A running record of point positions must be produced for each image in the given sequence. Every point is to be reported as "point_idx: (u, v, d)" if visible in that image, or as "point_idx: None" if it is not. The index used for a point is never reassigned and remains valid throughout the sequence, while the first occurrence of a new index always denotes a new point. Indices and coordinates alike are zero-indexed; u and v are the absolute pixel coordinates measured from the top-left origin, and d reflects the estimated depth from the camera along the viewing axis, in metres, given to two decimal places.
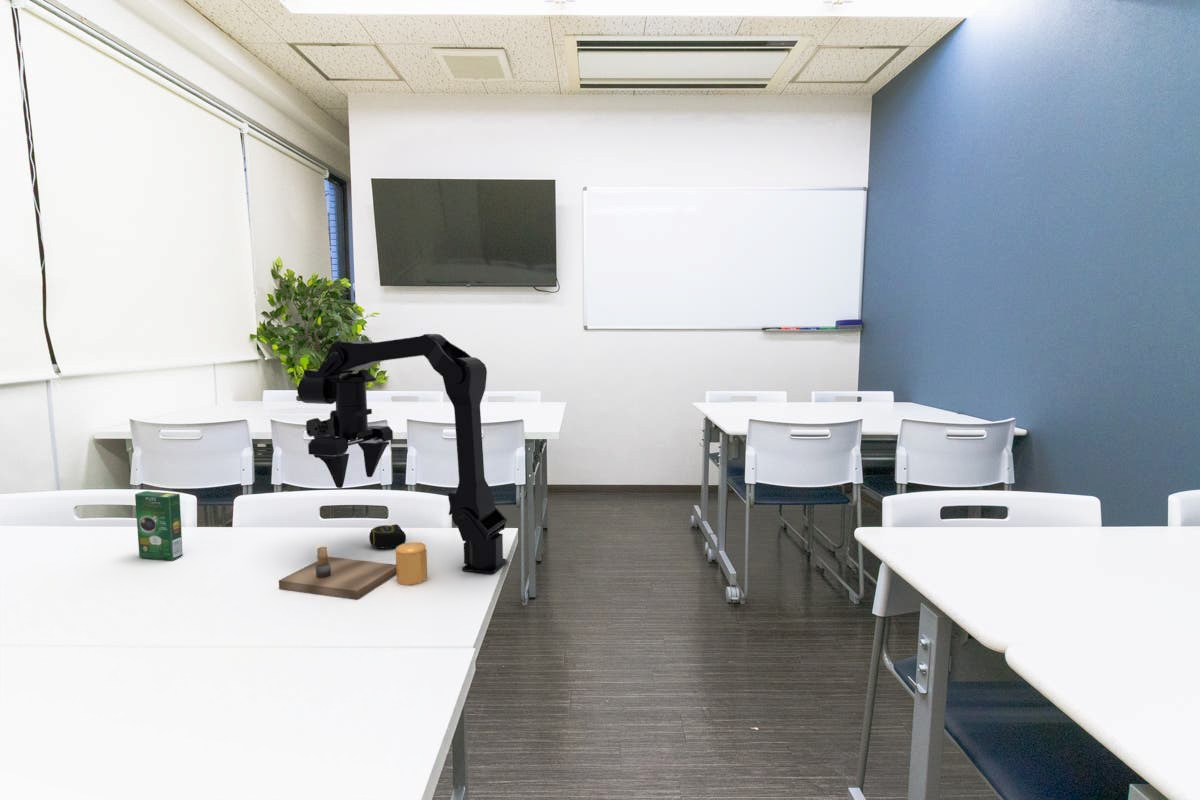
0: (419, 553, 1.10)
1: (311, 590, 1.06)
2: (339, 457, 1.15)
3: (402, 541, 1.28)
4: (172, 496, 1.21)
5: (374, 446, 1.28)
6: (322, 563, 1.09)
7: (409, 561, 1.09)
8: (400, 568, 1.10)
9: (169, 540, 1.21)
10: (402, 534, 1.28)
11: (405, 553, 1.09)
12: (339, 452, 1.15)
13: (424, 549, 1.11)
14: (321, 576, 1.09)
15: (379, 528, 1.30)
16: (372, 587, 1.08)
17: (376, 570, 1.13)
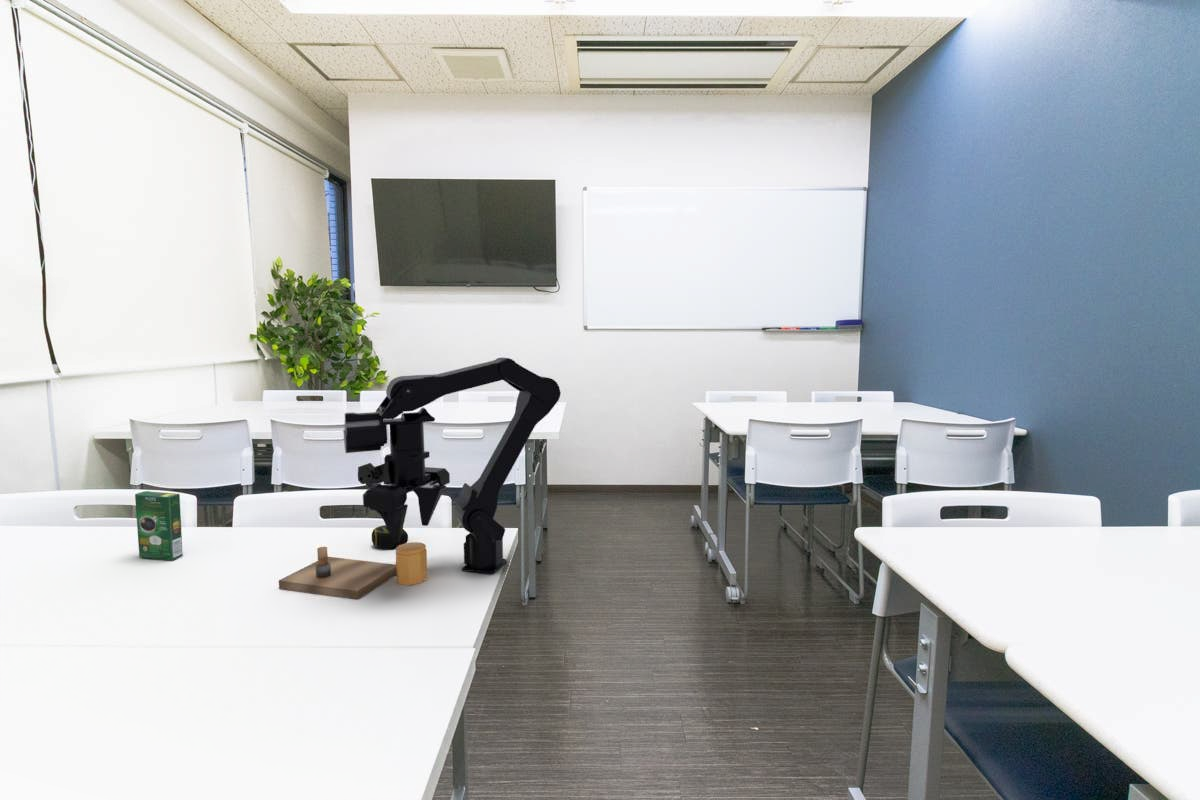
0: (419, 553, 1.10)
1: (311, 590, 1.06)
2: (398, 510, 1.03)
3: (404, 541, 1.29)
4: (172, 496, 1.21)
5: (430, 491, 1.15)
6: (322, 563, 1.09)
7: (409, 561, 1.09)
8: (400, 568, 1.10)
9: (169, 540, 1.21)
10: (404, 534, 1.29)
11: (405, 553, 1.09)
12: (398, 504, 1.02)
13: (424, 549, 1.11)
14: (321, 576, 1.09)
15: (381, 528, 1.30)
16: (372, 587, 1.08)
17: (376, 570, 1.13)
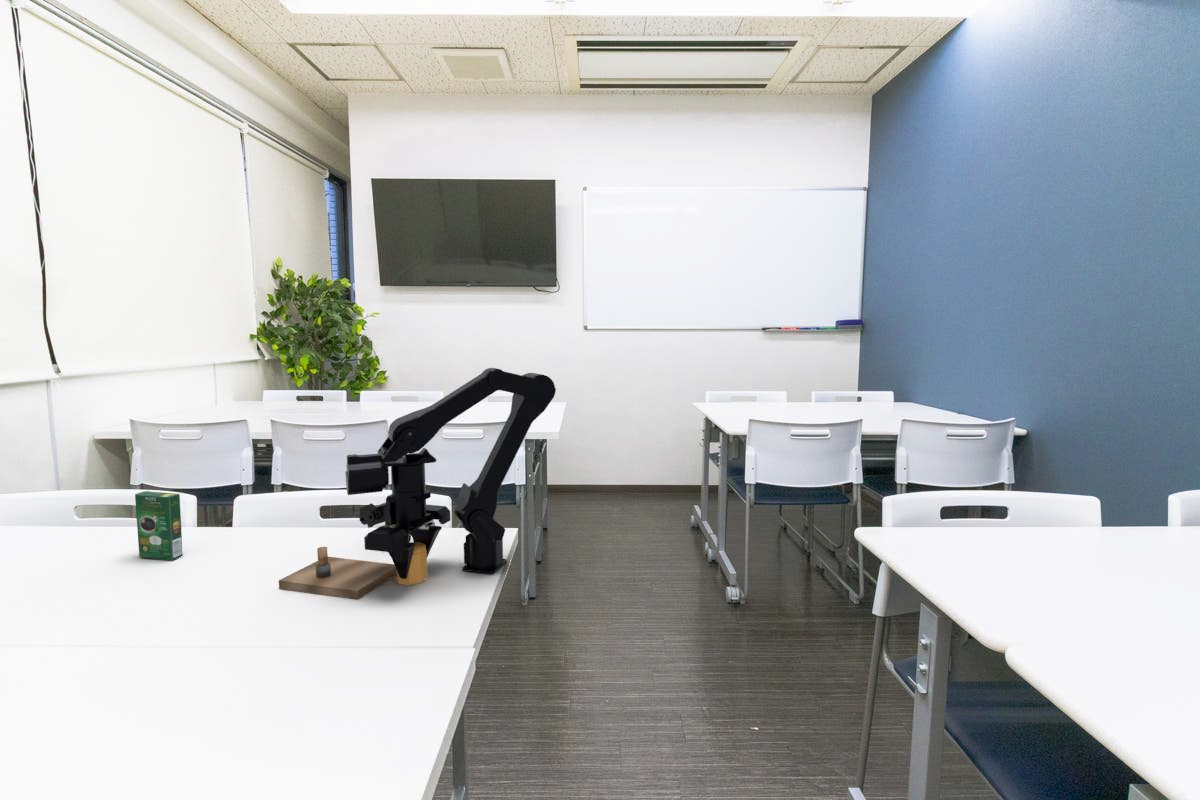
0: (419, 553, 1.10)
1: (311, 590, 1.06)
2: (406, 549, 1.05)
3: None
4: (172, 496, 1.21)
5: (425, 533, 1.14)
6: (322, 563, 1.09)
7: None
8: None
9: (169, 540, 1.21)
10: None
11: None
12: (399, 547, 1.03)
13: (424, 549, 1.11)
14: (321, 576, 1.09)
15: None
16: (372, 587, 1.08)
17: (376, 570, 1.13)
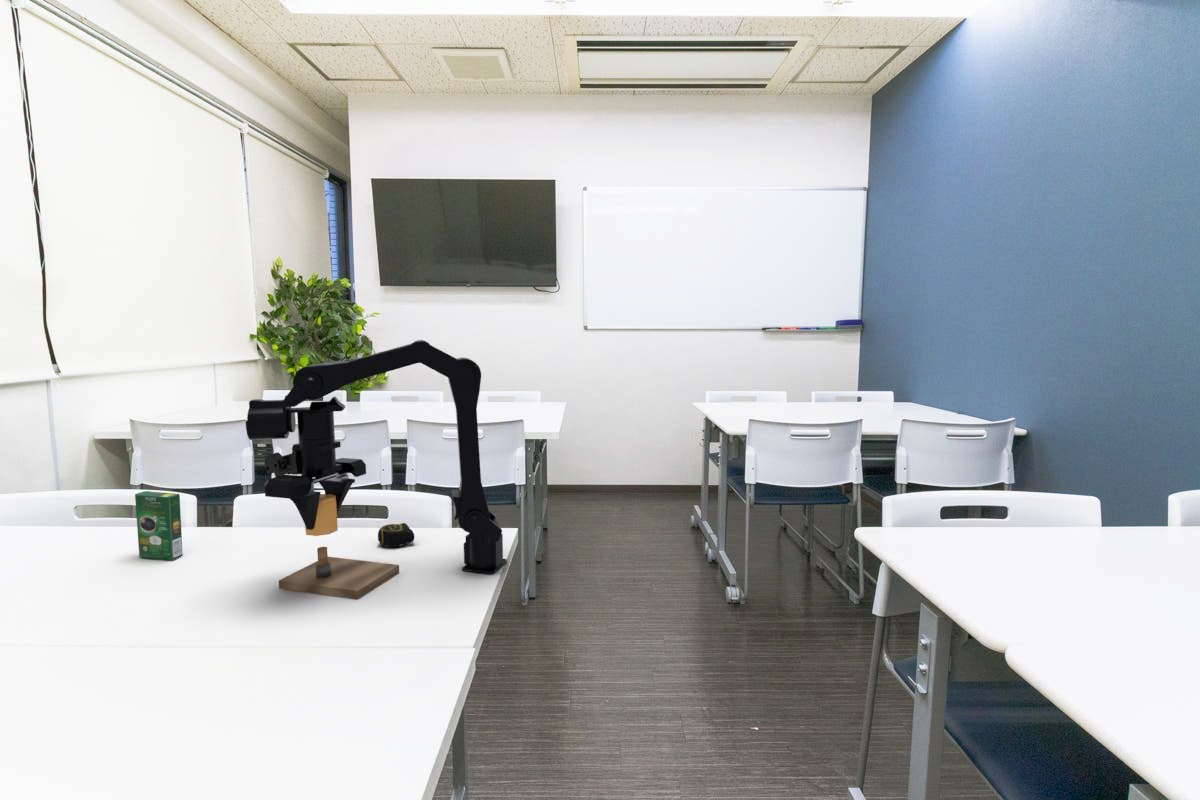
0: (327, 503, 1.07)
1: (311, 590, 1.06)
2: (309, 497, 1.02)
3: (410, 540, 1.29)
4: (172, 496, 1.21)
5: (337, 485, 1.11)
6: (322, 563, 1.09)
7: None
8: None
9: (169, 540, 1.21)
10: (410, 533, 1.29)
11: None
12: (300, 494, 1.00)
13: (333, 500, 1.08)
14: (321, 576, 1.09)
15: (387, 527, 1.31)
16: (372, 587, 1.08)
17: (376, 570, 1.13)
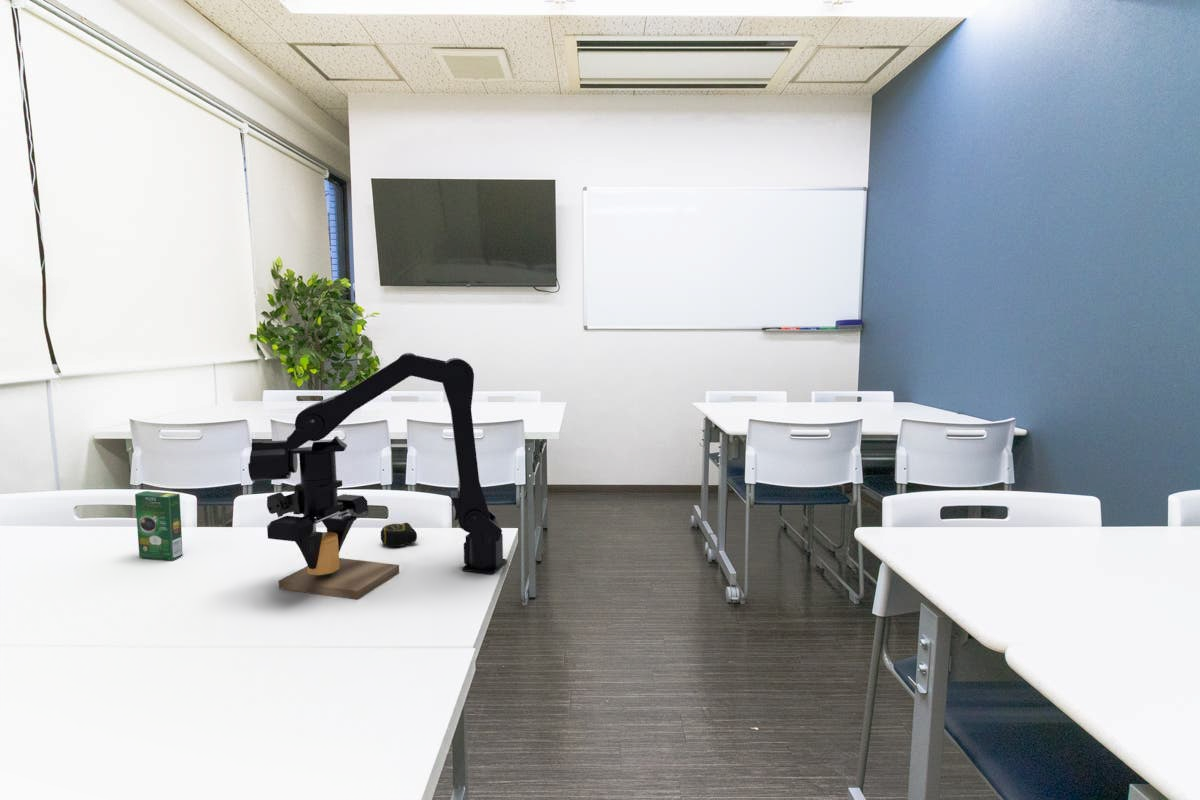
0: (329, 543, 1.08)
1: (311, 590, 1.06)
2: (311, 538, 1.03)
3: (413, 539, 1.30)
4: (172, 496, 1.21)
5: (339, 523, 1.12)
6: None
7: None
8: None
9: (169, 540, 1.21)
10: (413, 532, 1.30)
11: None
12: (302, 536, 1.01)
13: (335, 539, 1.09)
14: (321, 576, 1.09)
15: (390, 526, 1.31)
16: (372, 587, 1.08)
17: (376, 570, 1.13)
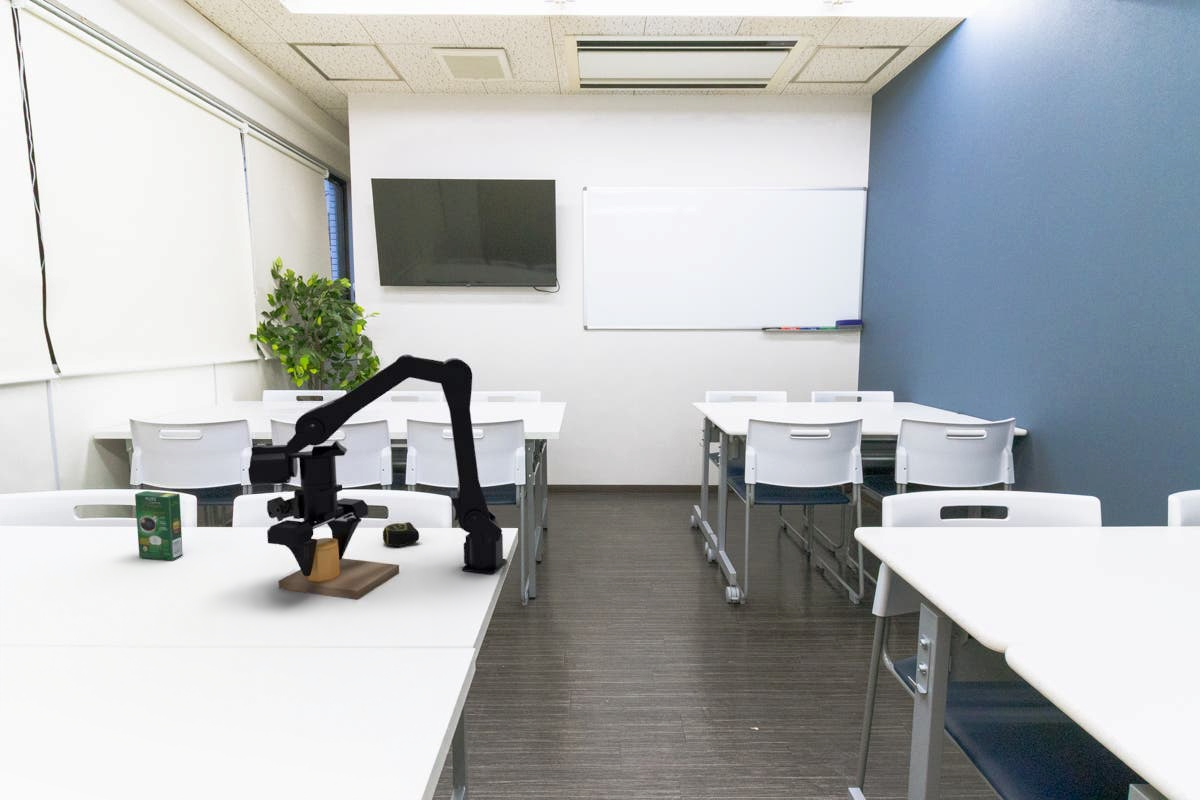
0: (329, 549, 1.08)
1: (311, 590, 1.06)
2: (305, 545, 1.02)
3: (415, 539, 1.30)
4: (172, 496, 1.21)
5: (344, 525, 1.13)
6: None
7: (318, 557, 1.07)
8: None
9: (169, 540, 1.21)
10: (415, 532, 1.30)
11: None
12: (302, 541, 1.01)
13: (335, 545, 1.09)
14: None
15: (392, 526, 1.32)
16: (372, 587, 1.08)
17: (376, 570, 1.13)
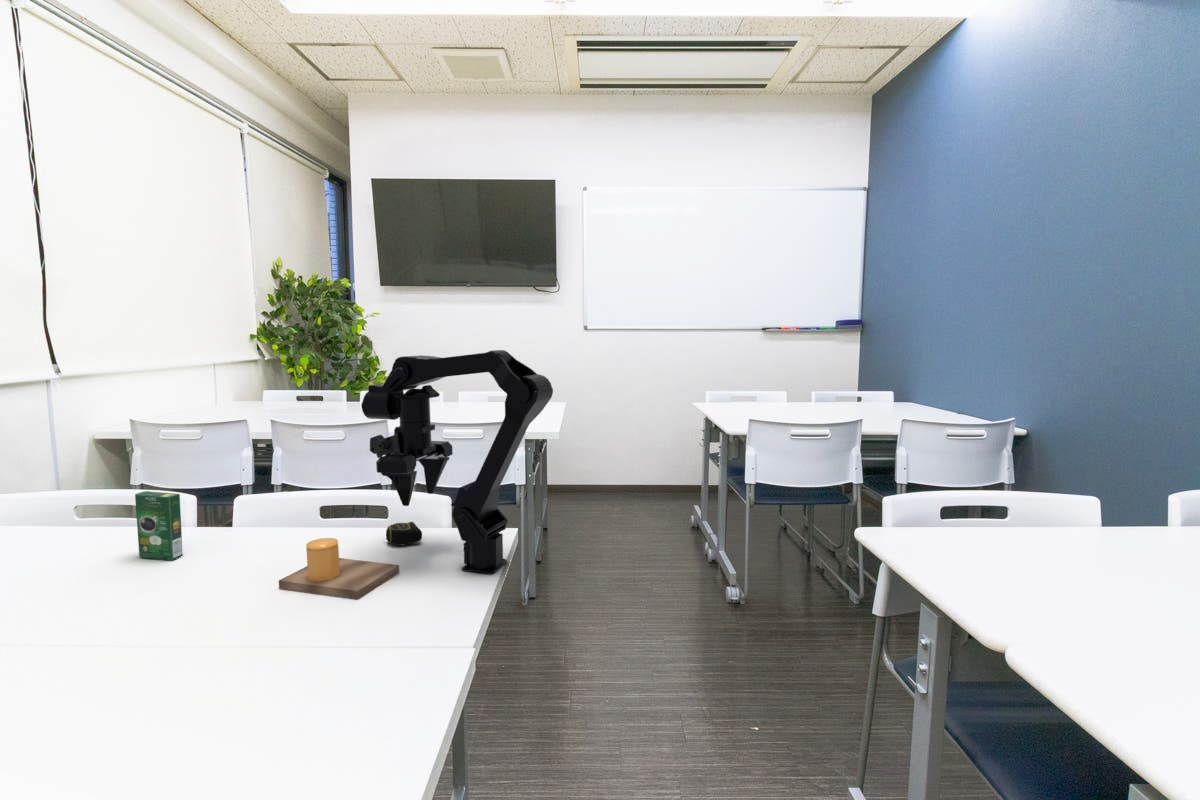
0: (329, 549, 1.08)
1: (311, 590, 1.06)
2: (409, 475, 1.13)
3: (418, 538, 1.30)
4: (172, 496, 1.21)
5: (435, 462, 1.26)
6: None
7: (318, 557, 1.07)
8: (309, 564, 1.08)
9: (169, 540, 1.21)
10: (418, 531, 1.30)
11: (314, 549, 1.07)
12: (409, 470, 1.12)
13: (335, 545, 1.09)
14: None
15: (395, 525, 1.32)
16: (372, 587, 1.08)
17: (376, 570, 1.13)
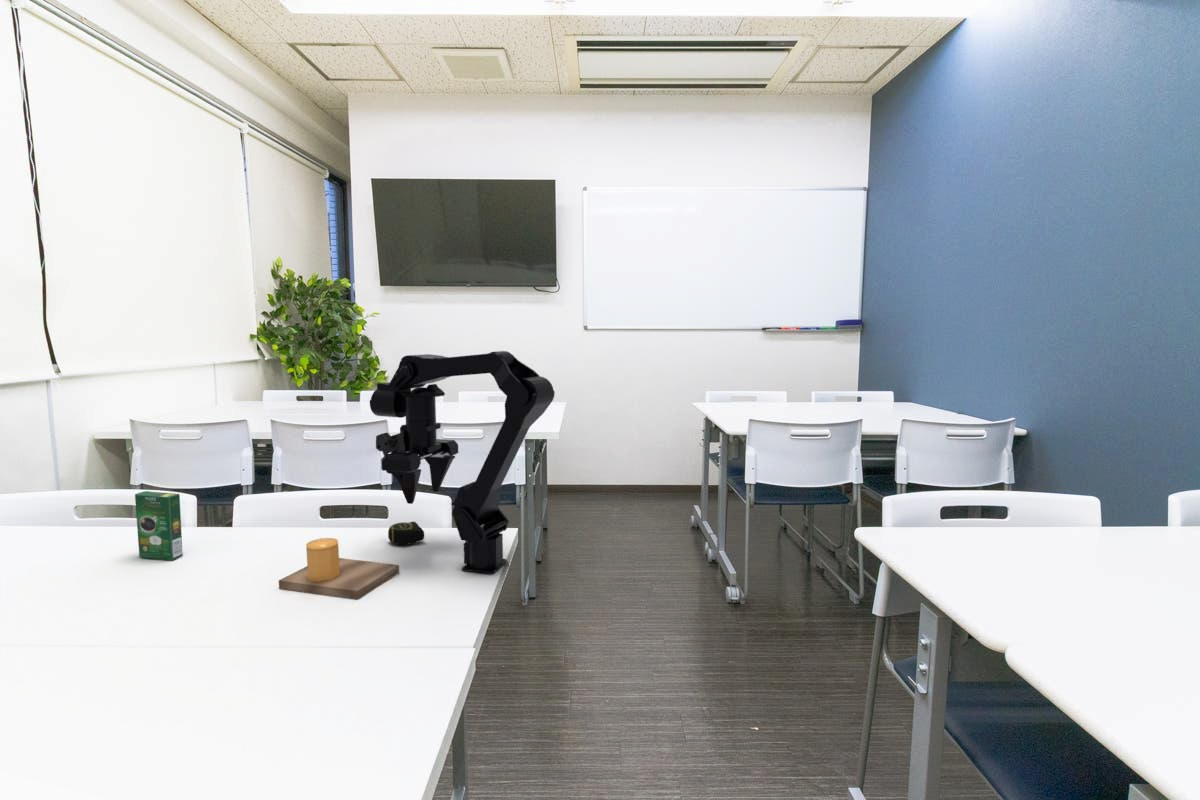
0: (329, 549, 1.08)
1: (311, 590, 1.06)
2: (413, 473, 1.14)
3: (420, 538, 1.30)
4: (172, 496, 1.21)
5: (441, 460, 1.26)
6: None
7: (318, 557, 1.07)
8: (309, 564, 1.08)
9: (169, 540, 1.21)
10: (420, 531, 1.30)
11: (314, 549, 1.07)
12: (413, 468, 1.13)
13: (335, 545, 1.09)
14: None
15: (397, 525, 1.32)
16: (372, 587, 1.08)
17: (376, 570, 1.13)
